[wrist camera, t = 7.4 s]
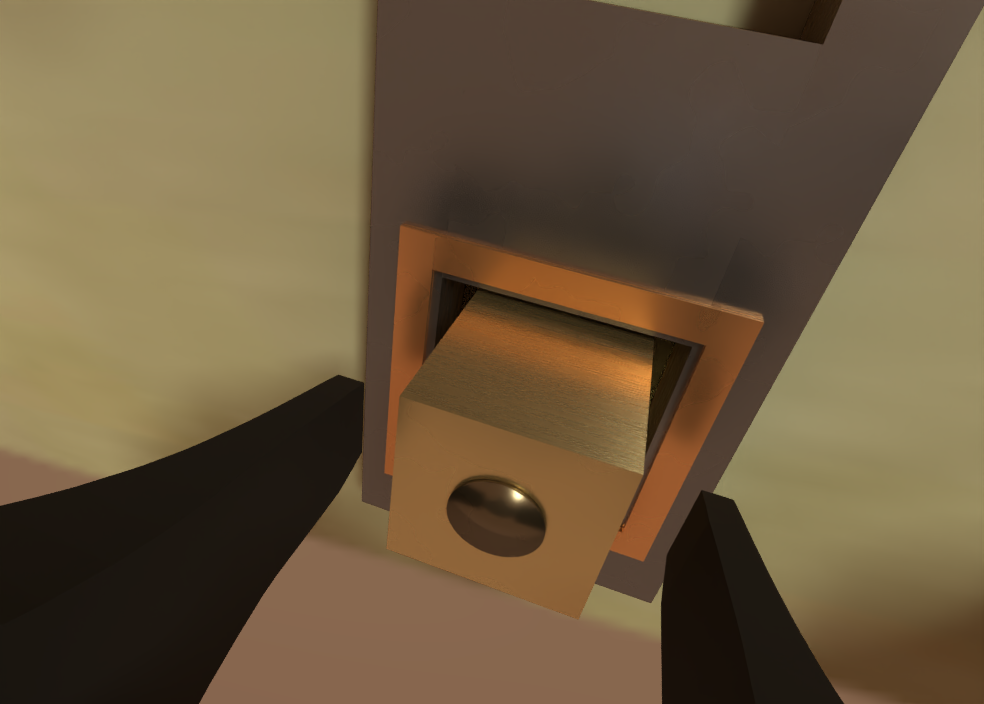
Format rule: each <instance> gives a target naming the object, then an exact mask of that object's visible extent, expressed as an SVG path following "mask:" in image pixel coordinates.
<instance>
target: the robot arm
mask: <svg viewBox="0 0 984 704" xmlns="http://www.w3.org/2000/svg"><path fill="white" fill-rule="evenodd" d="M363 400H364V383H363V382H360V381H356V380H353V379H350V378H347V377H344V376H341V375H337V376H335V377H333V378H331V379H329V380H327V381H325V382H323V383H321V384H320V385H318V386H316V387H314V388H312V389H310V390H308V391H306V392H304V393H303V394H301V395H299V396H297V397H295V398H293V399H291V400H289V401H287V402H286V403H284V404H282V405H280V406H278V407H276V408H274V409H272V410H270V411H268V412H266V413H264V414H262V415H260V416H258V417H256V418H254V419H252V420H250V421H248V422H246V423H244V424H242V425H239V426H237V427H235V428H233V429H231V430H229V431H226V432H224V433H222V434H220V435H218V436H215V437H213V438H211V439H209V440H207V441H205V442H202V443H200V444H198V445H195V446H193V447H191V448H188V449H186V450H183V451H181V452H178V453H176V454H173V455H170V456H168V457H165V458H162V459H159V460H157V461H154V462H151V463H149V464H146V465H143V466H140V467H137V468H134V469H131V470H128V471H125V472H122V473H119V474H115V475H112V476H109V477H106V478H102V479H99V480H96V481H93V482H90V483H86V484H83V485H80V486H77V487H73V488H70V489H66V490H62V491H58V492H54V493H51V494H47V495H43V496H39V497H35V498H32V499H27V500H23V501H19V502H14V503H10V504H6V505H2V506H0V704H199V703H200V701H201V699H202V697H203V695H204V693H205V692H206V690H207V688H208V686H209V684H210V683H211V681H212V679H213V678H214V676H215V674H216V672H217V670H218V669H219V667H220V666H221V664H222V662H223V661H224V659H225V657H226V655H227V654H228V652H229V650H230V648H231V647H232V645H233V643H234V642H235V640H236V638H237V637H238V635H239V633H240V632H241V630H242V628H243V627H244V625H245V624H246V622H247V620H248V619H249V617H250V615H251V614H252V612H253V610H254V609H255V607H256V606H257V604H258V602H259V601H260V599H261V597H262V596H263V594H264V593H265V591H266V590H267V588H268V587H269V586H270V584H271V583H272V581H273V580H274V578H275V577H276V575H277V574H278V573H279V571H280V570H281V569H282V567H283V566H284V565H285V563H286V562H287V561H288V559H289V558H290V557H291V555H292V554H293V553H294V551H295V550H296V549H297V547H298V546H299V545H300V544H301V542H302V541H303V540H304V538H305V537H306V536H307V534H308V533H309V532H310V530H311V529H312V528H313V526H314V525H315V524H316V522H317V521H318V520H319V518H320V517H321V516H322V514H323V513H324V512H325V510H326V509H327V507H328V506H329V505H330V503H331V502H332V501H333V499H334V498H335V497H336V495H337V494H338V492H339V491H340V489H341V488H342V486H343V484H344V483H345V481H346V479H347V478H348V476H349V474H350V472H351V471H352V469H353V467H354V465H355V463H356V461H357V460H358V458H359V456H360V454H361V452H362V433H363ZM661 651H662V652H661V653H662V704H844V703H843V701H842V700H841V699H840V697H839V696H838V694H837V693H836V691H835V689H834V688H833V686H832V685H831V683H830V682H829V680H828V678H827V677H826V675H825V674H824V672H823V670H822V669H821V667H820V665H819V664H818V662H817V660H816V659H815V657H814V655H813V653H812V652H811V650H810V648H809V647H808V645H807V643H806V642H805V640H804V638H803V636H802V635H801V633H800V631H799V629H798V627H797V626H796V624H795V622H794V620H793V618H792V617H791V615H790V613H789V611H788V609H787V607H786V605H785V603H784V601H783V600H782V598H781V596H780V594H779V592H778V590H777V588H776V586H775V584H774V582H773V580H772V578H771V576H770V574H769V572H768V570H767V568H766V566H765V564H764V562H763V560H762V558H761V556H760V554H759V552H758V550H757V548H756V546H755V544H754V542H753V540H752V537H751V535H750V533H749V531H748V529H747V527H746V525H745V523H744V520H743V518H742V516H741V514H740V512H739V510H738V508H737V506H736V504H735V502H734V500H732V499H729V498H726V497H723V496H719V495H716V494H713V493H710V492H707V491H704V490H701V492H700V494H699V496H698V497H697V499H696V501H695V503H694V505H693V507H692V509H691V510H690V512H689V514H688V516H687V518H686V520H685V522H684V523H683V525H682V527H681V529H680V531H679V533H678V535H677V536H676V538H675V540H674V542H673V544H672V546H671V548H670V549H669V551H668V553H667V556H666V565H665V573H664V581H663V591H662V601H661Z"/></svg>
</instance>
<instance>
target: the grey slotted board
mask: <svg viewBox="0 0 984 704" xmlns="http://www.w3.org/2000/svg"><path fill="white" fill-rule="evenodd" d="M983 6H984V0H816V1H815V3H814V6H813V8H812V10H811V13H810V15H809V18H808V20H807V23H806V25H805V28H804V30H803V32H802V35H801V37H800V40H799V39H794V38H788V37H783V36H778V35H773V34H767V33H762V32H757V31H751V30H746V29H741V28H735V27H730V26H725V25H719V24H714V23H709V22H703V21H698V20H693V19H687V18H682V17H677V16H672V15H666V14H661V13H656V12H650V11H645V10H640V9H634V8H629V7H624V6H618V5H613V4H608V3H602V2H597V1H592V0H378V16H377V47H376V78H375V109H374V140H373V171H372V202H371V233H370V264H369V295H368V327H367V358H366V389H365V420H364V451H363V482H362V501H363V502H365V503H368V504H371V505H374V506H377V507H380V508H382V509H385V510H388V511H390V502H391V490H392V478H393V466H394V455H395V443H396V431H397V419H398V408H399V396H400V395H401V393H402V392H403V391H404V389H405V388H406V387H407V385H408V384H409V383H410V381H411V380H412V379H413V377H414V376H415V374H416V373H417V372H418V370H419V369H420V368H421V366H422V365H423V364H424V362H425V361H426V360H427V358H428V357H429V355H430V354H431V353H432V351H433V350H434V349H435V347H436V346H437V345H438V343H439V342H440V340H441V339H442V338H443V336H444V335H445V334H446V332H447V331H448V330H449V328H450V327H451V326H452V324H453V323H454V321H455V320H456V319H457V317H458V316H459V315H460V313H461V310H462V303H463V296H464V289H465V284H468V285H472V286H475V287H479V288H482V289H486V290H490V291H493V292H497V293H500V294H504V295H508V296H511V297H515V298H518V299H522V300H526V301H529V302H533V303H536V304H540V305H544V306H547V307H551V308H554V309H558V310H561V311H565V312H569V313H572V314H576V315H579V316H583V317H587V318H590V319H594V320H597V321H601V322H605V323H608V324H612V325H615V326H619V327H623V328H626V329H630V330H633V331H637V332H641V333H644V334H648V335H651V336H655V337H659V338H662V339H666V340H669V341H673V342H676V343H675V345H674V348H673V350H672V353H671V355H670V357H669V360H668V362H667V365H666V367H665V370H664V372H663V375H662V377H661V379H660V382H659V384H658V387H657V389H656V392H655V394H654V397H653V399H652V401H651V404H650V406H649V412H648V424H647V437H646V449H645V462H644V474H643V477H642V479H641V482H640V484H639V486H638V488H637V490H636V493H635V495H634V497H633V499H632V501H631V504H630V506H629V508H628V510H627V513H626V515H625V517H624V519H623V521H622V524H621V526H620V528H619V530H618V532H617V535H616V537H615V539H614V541H613V544H612V546H611V548H610V550H609V552H608V555H607V557H606V559H605V561H604V564H603V566H602V568H601V570H600V572H599V575H598V577H597V579H596V581H595V584H598V585H601V586H603V587H606V588H609V589H612V590H615V591H618V592H620V593H623V594H626V595H629V596H632V597H635V598H637V599H640V600H643V601H646V602H649V603H652V601H653V599H654V597H655V595H656V594H657V592H658V590H659V588H660V586H661V585H662V583H663V581H664V573H665V565H666V556H667V553H668V551H669V549H670V548H671V546H672V544H673V542H674V540H675V538H676V536H677V535H678V533H679V531H680V529H681V527H682V525H683V523H684V522H685V520H686V518H687V516H688V514H689V512H690V510H691V509H692V507H693V505H694V503H695V501H696V499H697V497H698V496H699V494H700V492H701V490H704V491H707V492H710V493H713V491H714V489H715V488H716V486H717V484H718V482H719V480H720V479H721V477H722V475H723V473H724V471H725V470H726V468H727V466H728V464H729V462H730V461H731V459H732V457H733V455H734V453H735V452H736V450H737V448H738V446H739V444H740V443H741V441H742V439H743V437H744V436H745V434H746V432H747V430H748V428H749V427H750V425H751V423H752V421H753V419H754V418H755V416H756V414H757V412H758V410H759V409H760V407H761V405H762V403H763V401H764V400H765V398H766V396H767V394H768V392H769V391H770V389H771V387H772V385H773V383H774V382H775V380H776V378H777V376H778V374H779V373H780V371H781V369H782V367H783V365H784V364H785V362H786V360H787V358H788V356H789V355H790V353H791V351H792V349H793V347H794V346H795V344H796V342H797V340H798V339H799V337H800V335H801V333H802V331H803V330H804V328H805V326H806V324H807V322H808V321H809V319H810V317H811V315H812V313H813V312H814V310H815V308H816V306H817V304H818V303H819V301H820V299H821V297H822V295H823V294H824V292H825V290H826V288H827V286H828V285H829V283H830V281H831V279H832V277H833V276H834V274H835V272H836V270H837V268H838V267H839V265H840V263H841V261H842V259H843V258H844V256H845V254H846V252H847V251H848V249H849V247H850V245H851V243H852V242H853V240H854V238H855V236H856V234H857V233H858V231H859V229H860V227H861V225H862V224H863V222H864V220H865V218H866V216H867V215H868V213H869V211H870V209H871V207H872V206H873V204H874V202H875V200H876V198H877V197H878V195H879V193H880V191H881V189H882V188H883V186H884V184H885V182H886V180H887V179H888V177H889V175H890V173H891V171H892V170H893V168H894V166H895V164H896V162H897V161H898V159H899V157H900V155H901V154H902V152H903V150H904V148H905V146H906V145H907V143H908V141H909V139H910V137H911V136H912V134H913V132H914V130H915V128H916V127H917V125H918V123H919V121H920V119H921V118H922V116H923V114H924V112H925V110H926V109H927V107H928V105H929V103H930V101H931V100H932V98H933V96H934V94H935V92H936V91H937V89H938V87H939V85H940V83H941V82H942V80H943V78H944V76H945V74H946V73H947V71H948V69H949V67H950V66H951V64H952V62H953V60H954V58H955V57H956V55H957V53H958V51H959V49H960V48H961V46H962V44H963V42H964V40H965V39H966V37H967V35H968V33H969V31H970V30H971V28H972V26H973V24H974V22H975V21H976V19H977V17H978V15H979V13H980V12H981V10H982V8H983Z"/></svg>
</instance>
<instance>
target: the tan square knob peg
mask: <svg viewBox="0 0 984 704" xmlns="http://www.w3.org/2000/svg"><path fill="white" fill-rule="evenodd" d="M653 349H654V336H651V335H648V334H644V333H641V332H637V331H633V330H630V329H626V328H623V327H619V326H615V325H612V324H608V323H605V322H601V321H597V320H594V319H590V318H587V317H583V316H579V315H576V314H572V313H569V312H565V311H561V310H558V309H554V308H551V307H547V306H544V305H540V304H536V303H533V302H529V301H526V300H522V299H518V298H515V297H511V296H508V295H504V294H500V293H497V292H493V291H490V290H486V289H482V288H479V289H478V290H477V292H476V293H475V294H474V296H473V297H472V298H471V300H470V301H469V302H468V304H467V305H466V307H465V308H464V309H463V311H462V312H461V313H460V315H459V316H458V317H457V319H456V320H455V321H454V323H453V324H452V326H451V327H450V328H449V330H448V331H447V332H446V334H445V335H444V336H443V338H442V339H441V340H440V342H439V343H438V345H437V346H436V347H435V349H434V350H433V351H432V353H431V354H430V355H429V357H428V358H427V360H426V361H425V362H424V364H423V365H422V366H421V368H420V369H419V370H418V372H417V373H416V374H415V376H414V377H413V379H412V380H411V381H410V383H409V384H408V385H407V387H406V388H405V389H404V391H403V392H402V393H401V395H400V396H399V408H398V419H397V431H396V443H395V455H394V466H393V478H392V490H391V502H390V513H389V525H388V537H387V549H389V550H391V551H394V552H397V553H399V554H402V555H405V556H408V557H410V558H413V559H416V560H418V561H421V562H424V563H427V564H429V565H432V566H435V567H437V568H440V569H443V570H445V571H448V572H451V573H454V574H456V575H459V576H462V577H464V578H467V579H470V580H473V581H475V582H478V583H481V584H483V585H486V586H489V587H491V588H494V589H497V590H500V591H502V592H505V593H508V594H510V595H513V596H516V597H519V598H521V599H524V600H527V601H529V602H532V603H535V604H538V605H540V606H543V607H546V608H548V609H551V610H554V611H556V612H559V613H562V614H565V615H567V616H570V617H573V618H575V619H579V617H580V614H581V612H582V610H583V608H584V606H585V603H586V601H587V599H588V597H589V595H590V592H591V590H592V588H593V586H594V583H595V581H596V579H597V577H598V575H599V572H600V570H601V568H602V566H603V564H604V561H605V559H606V557H607V555H608V552H609V550H610V548H611V546H612V544H613V541H614V539H615V537H616V535H617V532H618V530H619V528H620V526H621V524H622V521H623V519H624V517H625V515H626V513H627V510H628V508H629V506H630V504H631V501H632V499H633V497H634V495H635V493H636V490H637V488H638V486H639V484H640V482H641V479H642V477H643V474H644V462H645V449H646V437H647V424H648V412H649V399H650V387H651V374H652V361H653Z"/></svg>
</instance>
